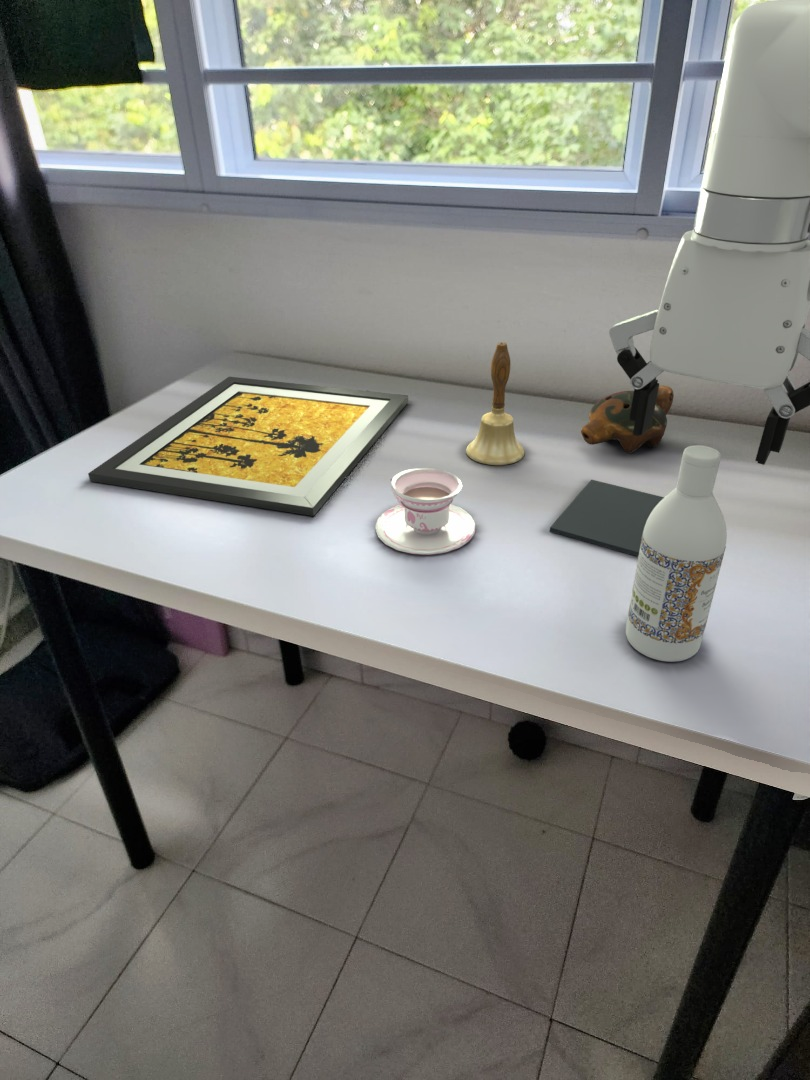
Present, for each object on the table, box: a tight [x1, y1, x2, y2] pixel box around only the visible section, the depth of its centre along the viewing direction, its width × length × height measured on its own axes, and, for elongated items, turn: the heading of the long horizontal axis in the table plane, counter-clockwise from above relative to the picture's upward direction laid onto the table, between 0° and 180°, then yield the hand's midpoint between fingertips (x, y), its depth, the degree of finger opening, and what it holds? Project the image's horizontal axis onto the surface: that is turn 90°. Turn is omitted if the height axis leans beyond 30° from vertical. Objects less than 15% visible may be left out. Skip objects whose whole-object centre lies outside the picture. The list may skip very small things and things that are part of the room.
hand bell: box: [465, 342, 525, 466], centre depth 103 cm, size 8×8×16 cm
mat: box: [549, 479, 665, 557], centre depth 91 cm, size 14×14×1 cm
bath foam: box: [625, 444, 728, 663], centre depth 67 cm, size 7×7×20 cm
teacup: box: [374, 467, 476, 556], centre depth 88 cm, size 12×12×6 cm
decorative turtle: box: [580, 385, 675, 454], centre depth 107 cm, size 10×15×8 cm, turn 122°
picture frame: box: [87, 376, 409, 517], centre depth 112 cm, size 38×1×33 cm
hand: (700, 443), depth 61 cm, fingers open, 9 cm apart
